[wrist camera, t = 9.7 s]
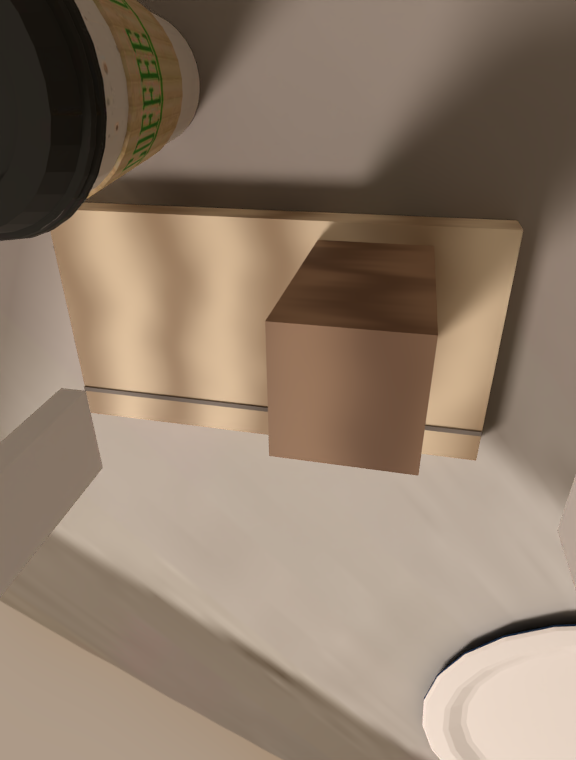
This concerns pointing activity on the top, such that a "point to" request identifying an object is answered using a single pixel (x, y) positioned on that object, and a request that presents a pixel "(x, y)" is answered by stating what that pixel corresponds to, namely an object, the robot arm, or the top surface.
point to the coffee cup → (83, 102)
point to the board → (260, 308)
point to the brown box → (353, 356)
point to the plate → (507, 699)
